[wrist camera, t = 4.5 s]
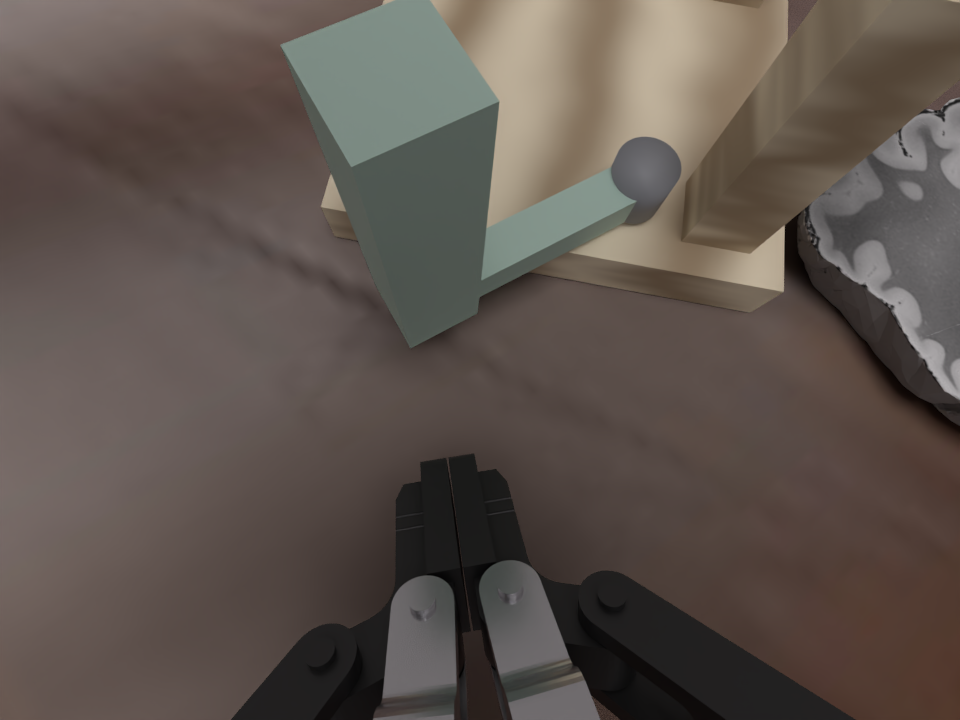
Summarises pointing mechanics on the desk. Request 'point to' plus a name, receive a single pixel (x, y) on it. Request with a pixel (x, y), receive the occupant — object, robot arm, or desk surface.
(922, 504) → the desk surface
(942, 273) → the brain slice
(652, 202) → the hinged leg
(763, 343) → the desk surface
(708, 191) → the stool seat
